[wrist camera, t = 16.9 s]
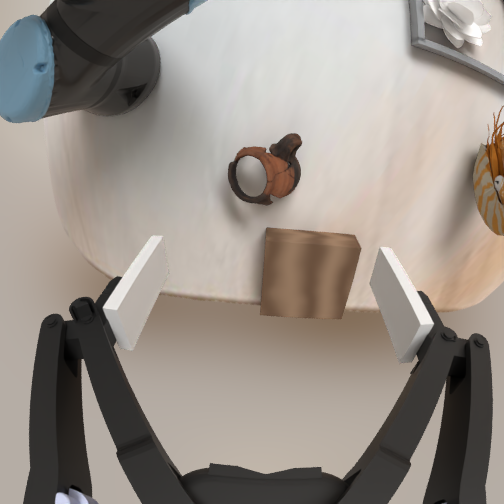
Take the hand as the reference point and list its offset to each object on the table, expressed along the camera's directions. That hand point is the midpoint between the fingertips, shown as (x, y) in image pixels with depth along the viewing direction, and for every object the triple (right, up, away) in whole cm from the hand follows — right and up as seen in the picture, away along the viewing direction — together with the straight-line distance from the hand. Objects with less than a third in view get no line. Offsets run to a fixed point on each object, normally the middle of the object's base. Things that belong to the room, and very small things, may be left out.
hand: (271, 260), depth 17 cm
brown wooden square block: (+8, -2, +34) cm, 35 cm away
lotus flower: (+31, +40, +7) cm, 51 cm away
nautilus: (+40, +18, +19) cm, 47 cm away
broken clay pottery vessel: (+4, +14, +25) cm, 29 cm away
